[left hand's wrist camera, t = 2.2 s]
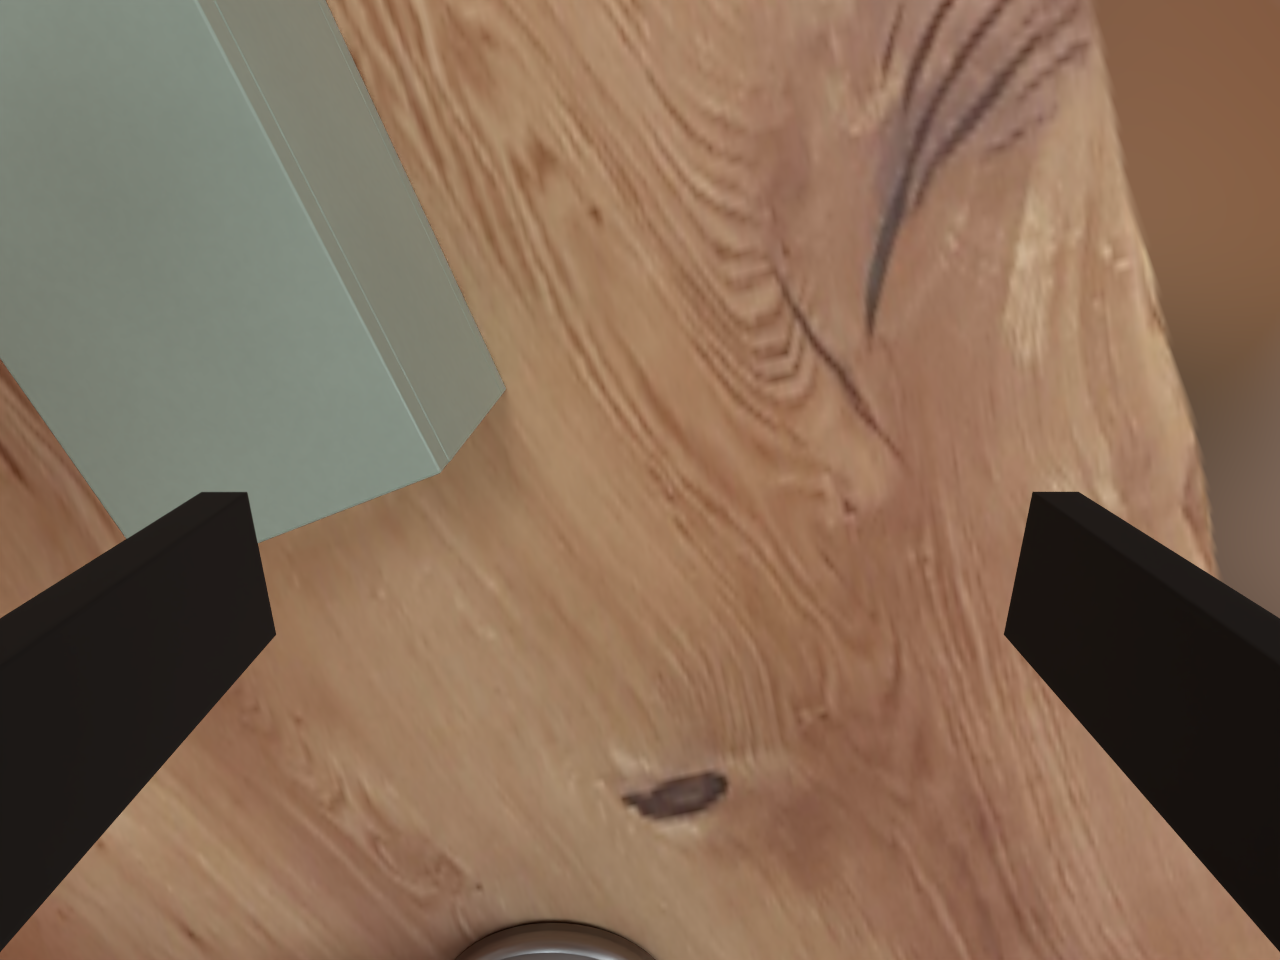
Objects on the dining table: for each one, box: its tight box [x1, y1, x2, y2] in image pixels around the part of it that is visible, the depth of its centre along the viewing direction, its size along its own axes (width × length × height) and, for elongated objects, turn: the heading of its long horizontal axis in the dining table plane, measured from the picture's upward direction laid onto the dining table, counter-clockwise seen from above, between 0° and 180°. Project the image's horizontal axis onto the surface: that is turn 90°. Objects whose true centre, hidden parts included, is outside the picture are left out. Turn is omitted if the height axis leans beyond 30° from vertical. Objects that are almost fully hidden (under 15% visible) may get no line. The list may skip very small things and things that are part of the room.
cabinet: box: [0, 0, 506, 543], centre depth 25 cm, size 17×10×11 cm, turn 21°
